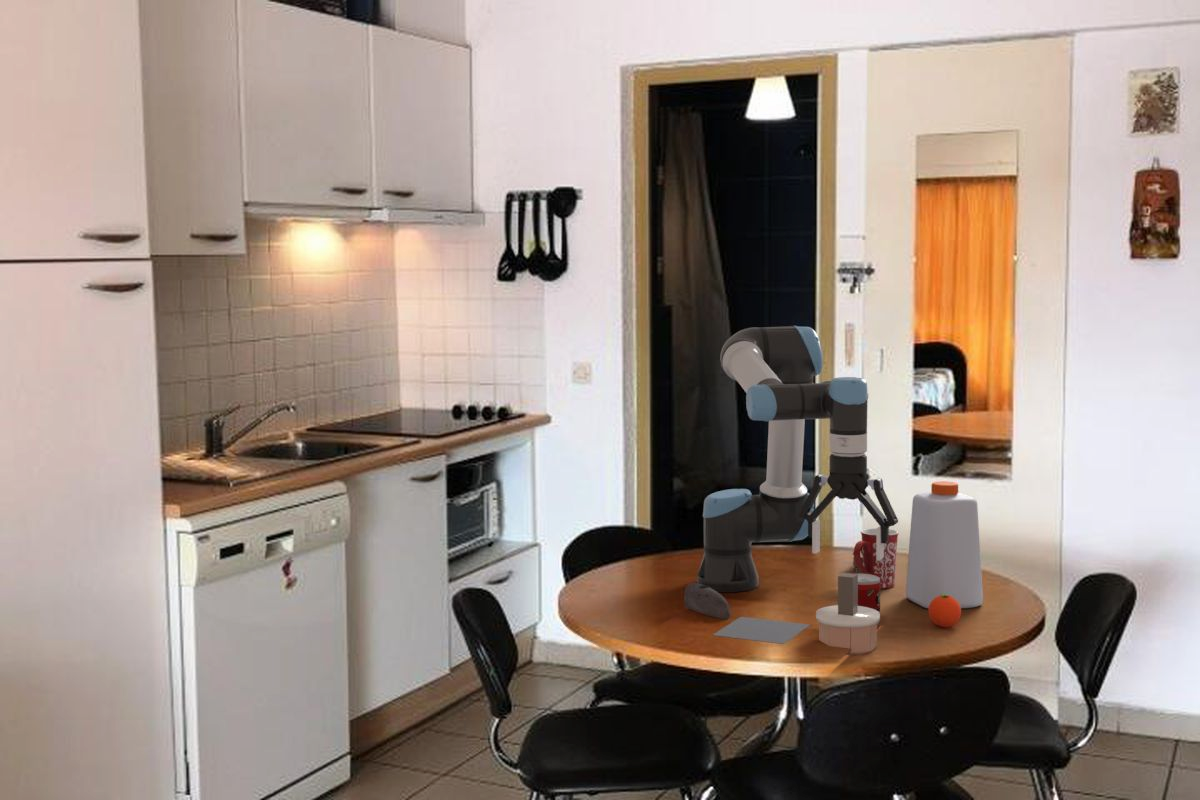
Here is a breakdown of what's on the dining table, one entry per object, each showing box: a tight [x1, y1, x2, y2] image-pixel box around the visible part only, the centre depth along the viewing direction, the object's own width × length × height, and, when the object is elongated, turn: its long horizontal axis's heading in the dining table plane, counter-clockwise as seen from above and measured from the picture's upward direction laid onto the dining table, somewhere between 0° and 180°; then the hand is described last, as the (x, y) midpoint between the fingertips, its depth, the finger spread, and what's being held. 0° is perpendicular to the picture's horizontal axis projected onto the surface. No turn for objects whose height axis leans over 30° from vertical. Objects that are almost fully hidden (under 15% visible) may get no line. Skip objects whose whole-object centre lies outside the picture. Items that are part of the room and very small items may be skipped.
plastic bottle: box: [905, 480, 984, 610], centre depth 317 cm, size 15×15×28 cm
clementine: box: [928, 594, 962, 628], centre depth 299 cm, size 8×7×7 cm
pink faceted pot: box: [818, 621, 878, 656], centre depth 284 cm, size 11×11×6 cm
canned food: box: [857, 573, 881, 630], centre depth 299 cm, size 8×8×11 cm
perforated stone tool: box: [683, 582, 731, 620], centre depth 308 cm, size 15×5×7 cm, turn 28°
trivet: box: [712, 616, 810, 645], centre depth 293 cm, size 16×16×2 cm
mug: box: [853, 527, 899, 590], centre depth 334 cm, size 13×9×14 cm
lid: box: [815, 572, 881, 627], centre depth 283 cm, size 13×13×9 cm
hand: (847, 555), depth 283 cm, fingers open, 13 cm apart
